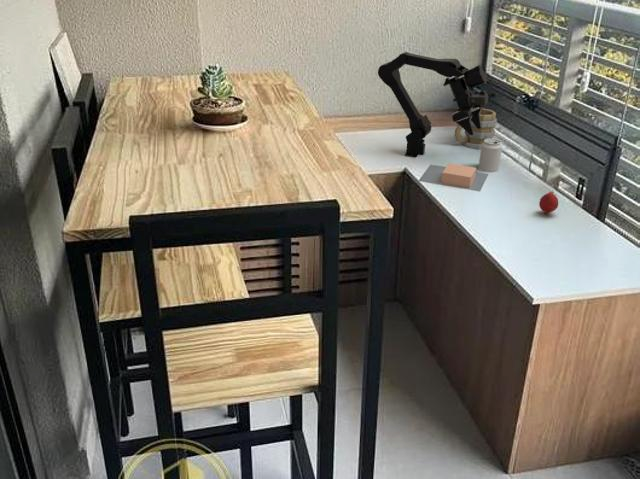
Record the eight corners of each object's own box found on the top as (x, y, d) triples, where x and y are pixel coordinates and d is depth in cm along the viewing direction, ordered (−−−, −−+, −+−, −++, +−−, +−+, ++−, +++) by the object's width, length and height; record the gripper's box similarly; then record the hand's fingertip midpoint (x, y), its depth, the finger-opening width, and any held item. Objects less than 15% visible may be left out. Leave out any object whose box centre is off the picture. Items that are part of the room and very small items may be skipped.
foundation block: (441, 183, 229) (442, 172, 227) (447, 173, 237) (448, 163, 235) (469, 187, 226) (470, 177, 224) (474, 178, 234) (476, 167, 232)
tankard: (484, 138, 277) (489, 104, 270) (498, 148, 266) (504, 113, 259) (441, 141, 273) (445, 106, 266) (454, 151, 262) (458, 115, 255)
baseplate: (418, 183, 231) (418, 180, 230) (430, 166, 246) (430, 164, 245) (479, 194, 224) (480, 191, 223) (488, 176, 238) (488, 173, 238)
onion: (546, 218, 207) (551, 195, 204) (533, 211, 212) (538, 189, 208) (559, 215, 210) (564, 192, 206) (546, 208, 214) (551, 186, 210)
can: (498, 175, 239) (503, 144, 234) (478, 173, 241) (482, 143, 235) (497, 168, 246) (502, 138, 240) (477, 166, 247) (482, 136, 242)
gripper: (473, 90, 226) (488, 131, 229) (488, 79, 241) (502, 118, 244) (445, 101, 233) (460, 140, 236) (461, 90, 247) (475, 128, 250)
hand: (475, 131), depth 241 cm, fingers open, 9 cm apart
